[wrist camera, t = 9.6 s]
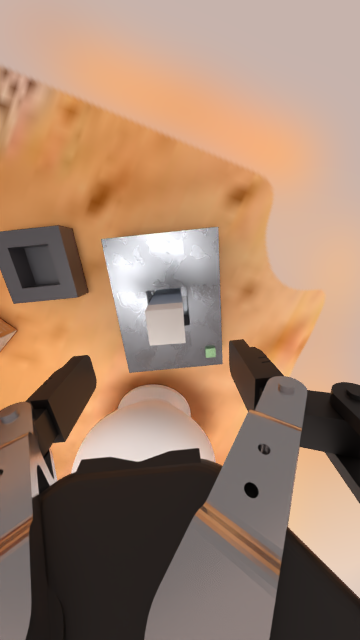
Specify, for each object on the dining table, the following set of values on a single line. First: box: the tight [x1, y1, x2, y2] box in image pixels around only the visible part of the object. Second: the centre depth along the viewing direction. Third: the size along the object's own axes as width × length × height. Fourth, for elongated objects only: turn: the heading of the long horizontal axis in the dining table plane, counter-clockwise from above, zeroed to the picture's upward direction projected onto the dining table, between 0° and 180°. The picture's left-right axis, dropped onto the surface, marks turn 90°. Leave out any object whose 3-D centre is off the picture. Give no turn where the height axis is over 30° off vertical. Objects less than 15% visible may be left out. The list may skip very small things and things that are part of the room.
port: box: [101, 227, 222, 373], centre depth 25 cm, size 16×12×6 cm
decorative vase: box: [71, 384, 216, 474], centre depth 22 cm, size 18×18×25 cm
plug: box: [145, 288, 186, 346], centre depth 22 cm, size 3×3×10 cm
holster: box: [0, 226, 88, 304], centre depth 24 cm, size 8×8×3 cm
